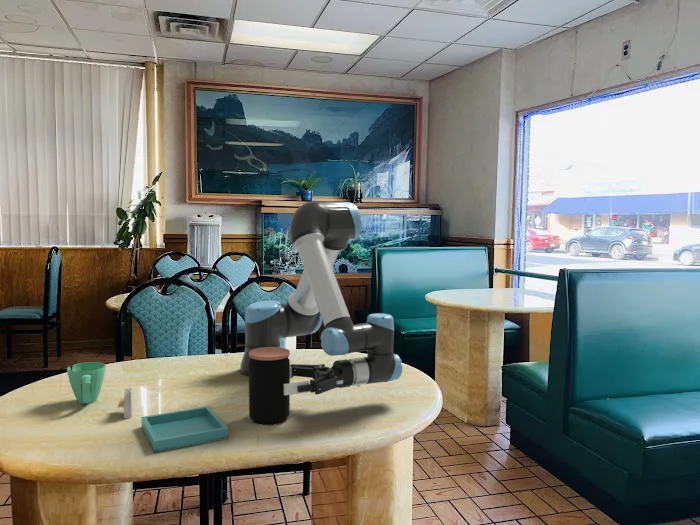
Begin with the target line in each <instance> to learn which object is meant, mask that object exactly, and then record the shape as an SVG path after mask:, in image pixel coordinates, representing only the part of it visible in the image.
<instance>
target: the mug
mask: <svg viewBox="0 0 700 525" xmlns="http://www.w3.org/2000/svg"><path fill="white" fill-rule="evenodd" d="M66 372H67V377H68V381H69V384H70V387H71V389H72V392H73V395H74V396H75V399H76V401H77V403H78V404H80V405H88V404H93V403H96V402H97V400H98V398H99V395H100V393H101V391H102V390H101V389H102V386H103V383H104V378H105V373H106V364H105V363H103V362H98V361H87V362H79V363H76V364H72V366H71V367H70V366H68V367H67V368H66ZM92 402H93V403H92Z"/></svg>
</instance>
